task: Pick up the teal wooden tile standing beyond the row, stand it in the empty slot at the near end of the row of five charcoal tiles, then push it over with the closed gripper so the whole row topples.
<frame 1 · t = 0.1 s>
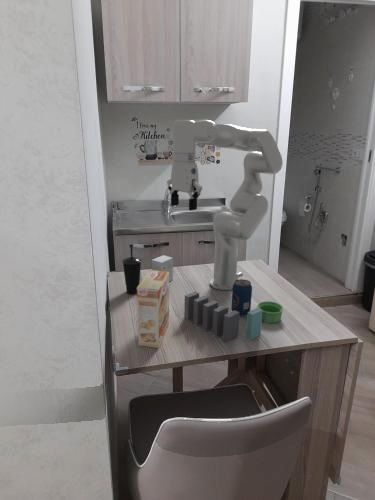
hand: (183, 207, 132), 37 cm above the table, tool pointing down, fingers open, 9 cm apart
drinking cup: (132, 292, 151), on the table
tile 6: (230, 338, 118), on the table
teal tile: (253, 335, 120), on the table
ramekin: (269, 318, 132), on the table
soda can: (240, 313, 135), on the table
small box: (162, 281, 162), on the table
tile 5: (219, 333, 122), on the table
tile 2: (191, 317, 131), on the table
tile 3: (200, 322, 128), on the table
tile 4: (209, 327, 125), on the table
coffeecake box: (154, 335, 120), on the table
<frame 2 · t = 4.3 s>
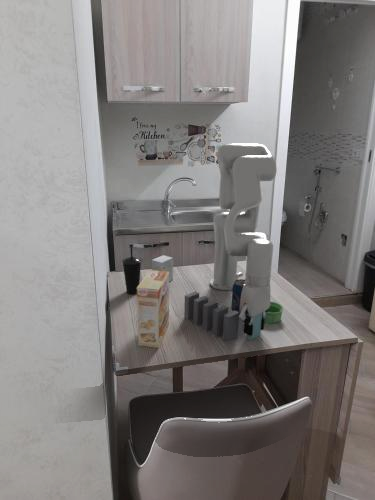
hand: (253, 330, 120), 2 cm above the table, tool pointing down, fingers closed on teal tile, 4 cm apart
teal tile: (253, 335, 120), on the table, touching gripper
everything else where it was.
when the fingers open (3 cm above the table, at t = 10.8 s): teal tile stays where it is, on the table.
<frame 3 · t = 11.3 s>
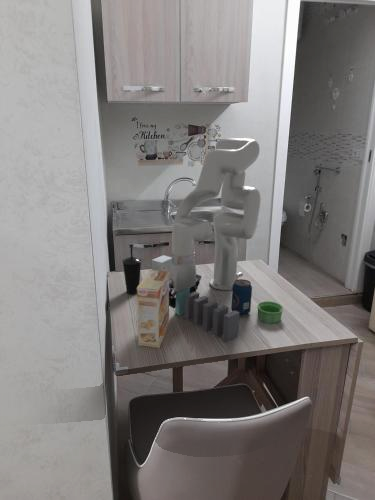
hand: (182, 302, 134), 4 cm above the table, tool pointing down, fingers open, 9 cm apart
teal tile: (182, 312, 135), on the table
everything else where it was.
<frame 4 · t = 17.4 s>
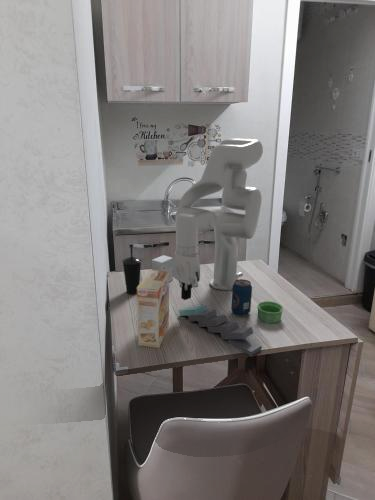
hand: (186, 298, 131), 6 cm above the table, tool pointing down, fingers closed
tile 6: (233, 339, 117), on the table, tilted 90°, touching tile 5
teal tile: (184, 311, 134), point 1 cm above the table, tilted 66°, touching tile 2
tile 5: (226, 333, 119), point 1 cm above the table, tilted 67°, touching tile 4, tile 6
tile 2: (194, 316, 130), point 1 cm above the table, tilted 64°, touching teal tile, tile 3
tile 3: (203, 321, 126), point 1 cm above the table, tilted 64°, touching tile 2, tile 4
tile 4: (213, 326, 124), point 1 cm above the table, tilted 67°, touching tile 3, tile 5
everything else where it was.
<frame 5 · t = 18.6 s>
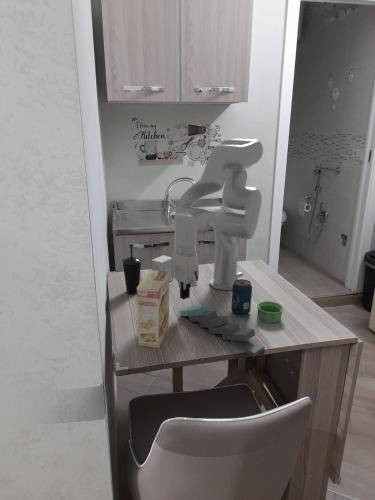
hand: (184, 297, 132), 6 cm above the table, tool pointing down, fingers closed
tile 6: (236, 340, 117), on the table, tilted 90°
tile 5: (227, 333, 119), point 1 cm above the table, tilted 69°, touching tile 4
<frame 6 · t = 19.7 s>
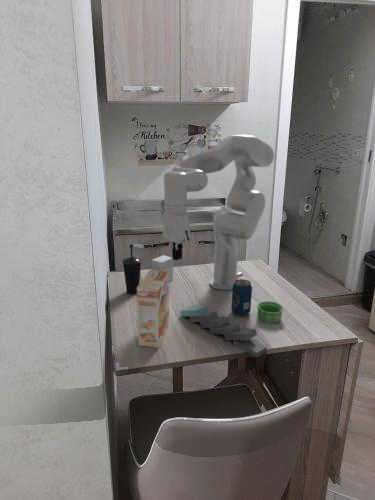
hand: (177, 258, 132), 19 cm above the table, tool pointing down, fingers closed
tile 6: (238, 340, 117), point 1 cm above the table, tilted 90°, touching tile 5
tile 5: (229, 333, 119), point 1 cm above the table, tilted 67°, touching tile 6
tile 4: (215, 327, 123), point 1 cm above the table, tilted 68°, touching tile 3
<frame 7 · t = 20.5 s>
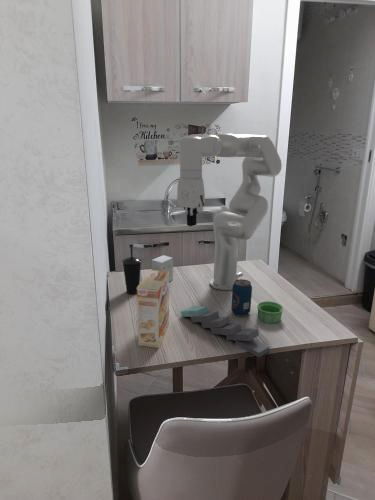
hand: (191, 225, 134), 30 cm above the table, tool pointing down, fingers closed
tile 5: (231, 334, 119), point 1 cm above the table, tilted 68°, touching tile 4, tile 6
tile 4: (216, 328, 123), point 1 cm above the table, tilted 68°, touching tile 3, tile 5
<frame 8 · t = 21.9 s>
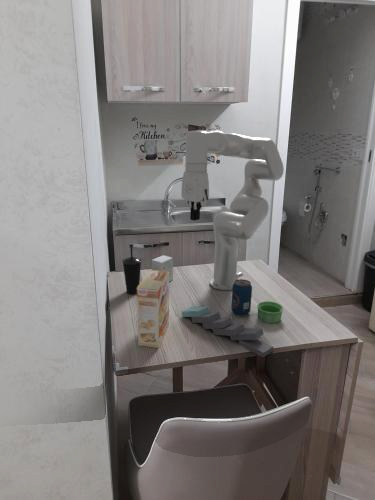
hand: (195, 219, 135), 32 cm above the table, tool pointing down, fingers closed
tile 6: (244, 340, 117), on the table, tilted 90°, touching tile 5
tile 5: (234, 334, 119), point 1 cm above the table, tilted 69°, touching tile 6
tile 4: (217, 329, 122), point 1 cm above the table, tilted 68°, touching tile 3
at the end: tile 6 tilted 90°; teal tile tilted 67° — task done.
